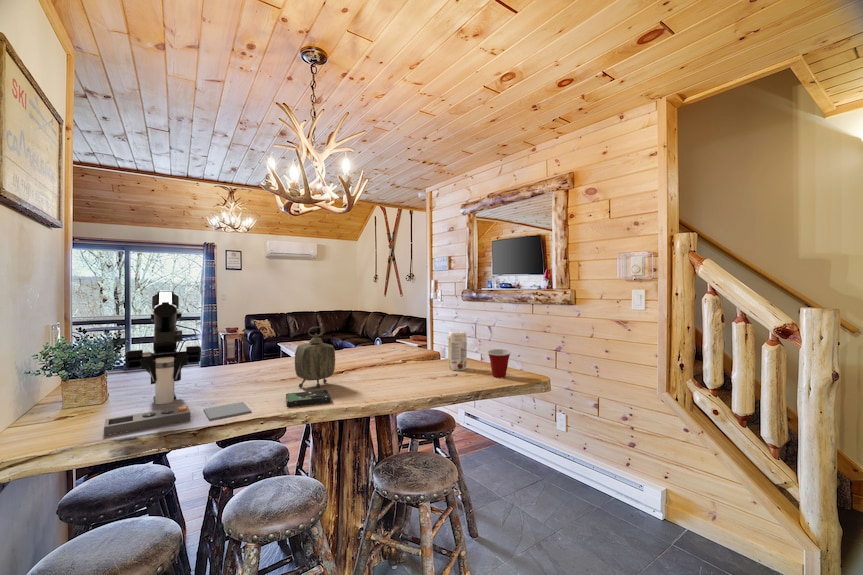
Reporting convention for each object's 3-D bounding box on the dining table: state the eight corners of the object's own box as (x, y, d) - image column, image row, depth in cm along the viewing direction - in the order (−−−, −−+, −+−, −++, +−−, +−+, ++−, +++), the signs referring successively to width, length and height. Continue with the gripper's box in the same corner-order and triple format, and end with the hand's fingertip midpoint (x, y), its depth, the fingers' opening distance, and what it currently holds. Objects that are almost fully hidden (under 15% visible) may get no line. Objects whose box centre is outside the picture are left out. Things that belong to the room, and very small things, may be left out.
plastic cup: (483, 377, 172) (483, 351, 172) (492, 373, 181) (492, 348, 181) (505, 380, 166) (506, 353, 166) (514, 375, 175) (514, 350, 175)
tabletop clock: (326, 381, 162) (327, 324, 162) (337, 385, 156) (337, 326, 156) (294, 387, 152) (294, 326, 152) (303, 392, 146) (304, 328, 146)
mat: (203, 410, 123) (203, 408, 123) (242, 403, 131) (242, 401, 131) (209, 420, 114) (209, 418, 114) (251, 412, 122) (251, 410, 122)
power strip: (105, 427, 108) (105, 416, 108) (187, 413, 121) (187, 403, 121) (103, 436, 102) (104, 424, 102) (190, 420, 114) (190, 409, 114)
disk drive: (326, 396, 142) (285, 400, 136) (327, 389, 142) (285, 393, 136) (331, 404, 133) (286, 409, 127) (331, 396, 133) (286, 401, 127)
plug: (155, 401, 111) (155, 357, 111) (173, 398, 114) (174, 356, 114) (154, 407, 106) (155, 361, 106) (173, 404, 108) (174, 359, 108)
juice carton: (467, 370, 187) (468, 332, 187) (451, 371, 184) (451, 333, 184) (462, 367, 194) (462, 330, 194) (446, 368, 192) (447, 331, 192)
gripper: (126, 323, 108) (122, 367, 99) (201, 320, 119) (203, 360, 110) (128, 346, 115) (124, 390, 106) (199, 341, 126) (201, 381, 117)
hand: (164, 379), depth 110 cm, fingers closed on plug, 4 cm apart
